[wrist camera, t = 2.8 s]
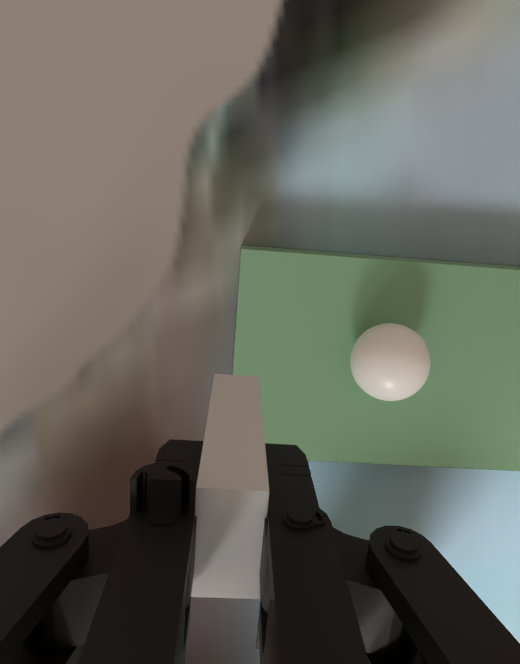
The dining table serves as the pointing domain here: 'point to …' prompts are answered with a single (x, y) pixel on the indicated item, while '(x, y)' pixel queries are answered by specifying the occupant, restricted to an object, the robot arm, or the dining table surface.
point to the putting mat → (350, 323)
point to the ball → (390, 362)
